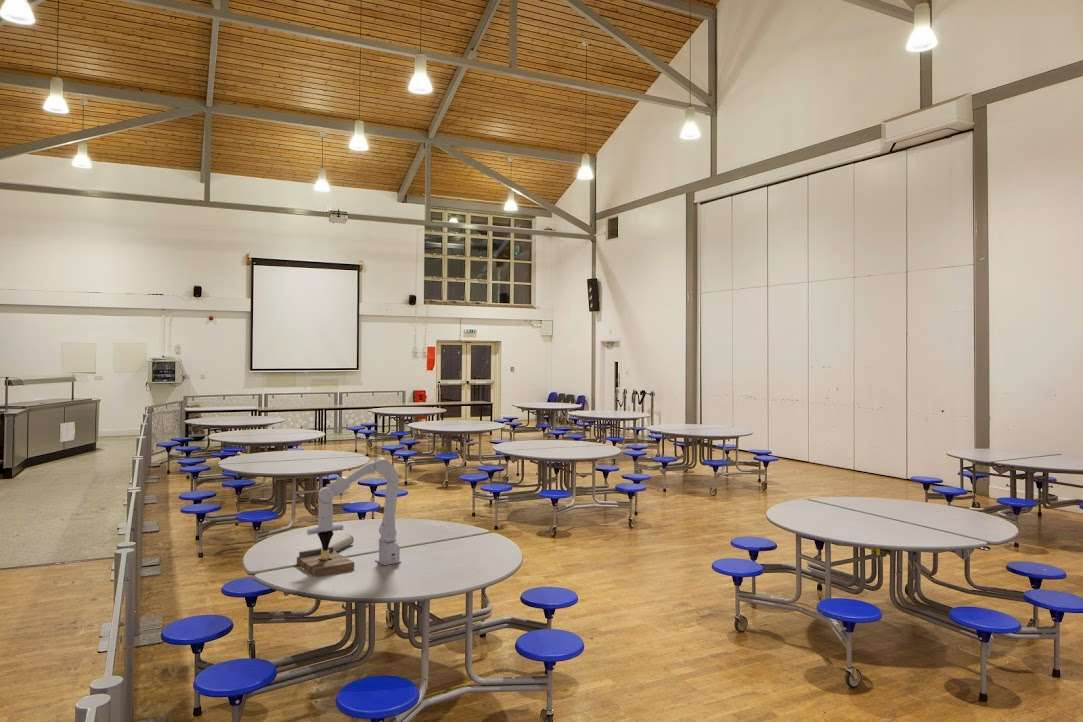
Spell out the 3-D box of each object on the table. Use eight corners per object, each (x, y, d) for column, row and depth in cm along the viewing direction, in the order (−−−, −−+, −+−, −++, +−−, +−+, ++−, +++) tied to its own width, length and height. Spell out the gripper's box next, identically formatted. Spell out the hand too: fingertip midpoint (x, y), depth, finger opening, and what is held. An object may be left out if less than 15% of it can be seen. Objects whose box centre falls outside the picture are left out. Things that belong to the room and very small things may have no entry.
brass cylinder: (330, 567, 275) (330, 550, 276) (322, 568, 274) (322, 551, 274) (327, 565, 278) (327, 548, 278) (319, 566, 276) (320, 549, 276)
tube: (326, 550, 286) (355, 536, 311) (315, 546, 288) (345, 532, 312) (322, 562, 287) (352, 547, 311) (312, 557, 288) (342, 542, 312)
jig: (354, 569, 272) (354, 557, 272) (315, 577, 262) (315, 564, 262) (334, 557, 289) (334, 546, 289) (296, 564, 279) (296, 552, 279)
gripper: (338, 512, 284) (338, 545, 283) (304, 517, 275) (304, 550, 274) (345, 515, 278) (345, 548, 278) (310, 520, 269) (310, 554, 269)
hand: (325, 549), depth 276 cm, fingers closed
